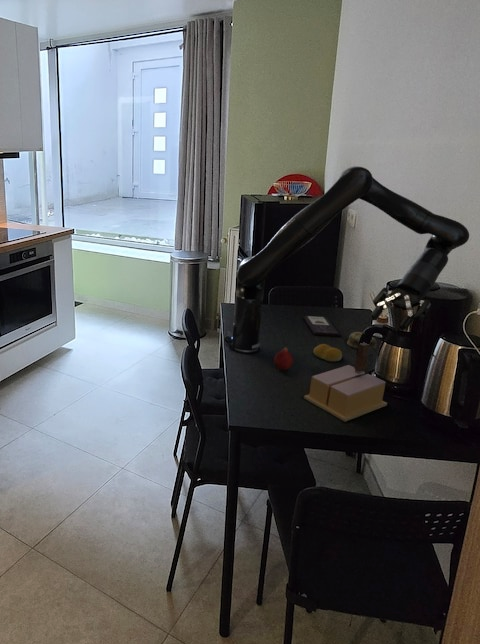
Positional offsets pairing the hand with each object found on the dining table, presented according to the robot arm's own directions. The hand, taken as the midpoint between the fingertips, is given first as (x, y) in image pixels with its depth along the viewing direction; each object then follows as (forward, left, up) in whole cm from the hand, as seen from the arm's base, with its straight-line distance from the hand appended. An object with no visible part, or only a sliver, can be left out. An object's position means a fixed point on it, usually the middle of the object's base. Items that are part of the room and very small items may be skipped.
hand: (387, 323), depth 139 cm
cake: (-10, -9, -22) cm, 26 cm away
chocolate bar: (-8, +51, -22) cm, 56 cm away
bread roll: (-10, +22, -22) cm, 33 cm away
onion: (-26, +7, -22) cm, 35 cm away
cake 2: (+4, +36, -22) cm, 42 cm away
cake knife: (-7, -6, -21) cm, 23 cm away
